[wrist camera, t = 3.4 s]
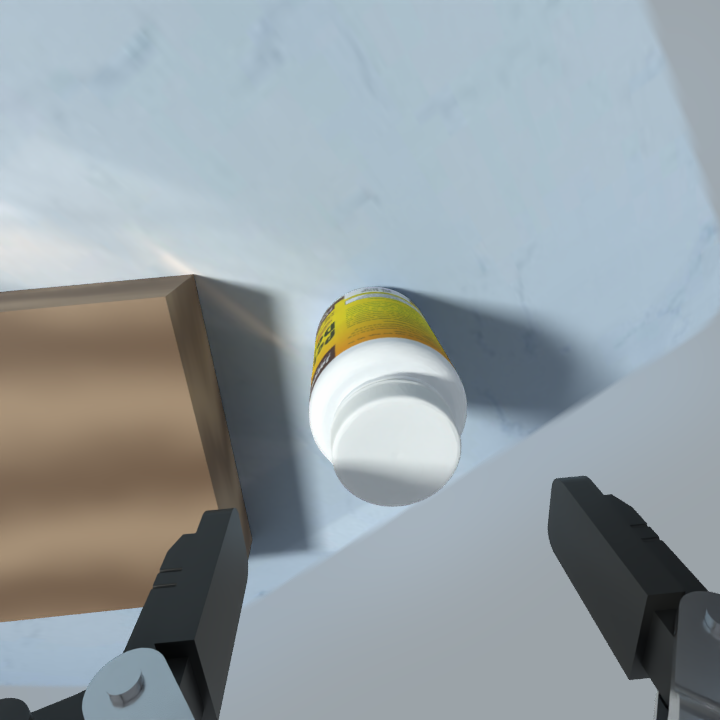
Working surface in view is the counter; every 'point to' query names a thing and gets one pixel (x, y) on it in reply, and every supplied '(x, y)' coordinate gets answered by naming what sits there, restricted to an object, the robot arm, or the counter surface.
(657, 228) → the counter surface
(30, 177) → the counter surface
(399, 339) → the supplement bottle
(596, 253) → the counter surface
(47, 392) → the walnut block
